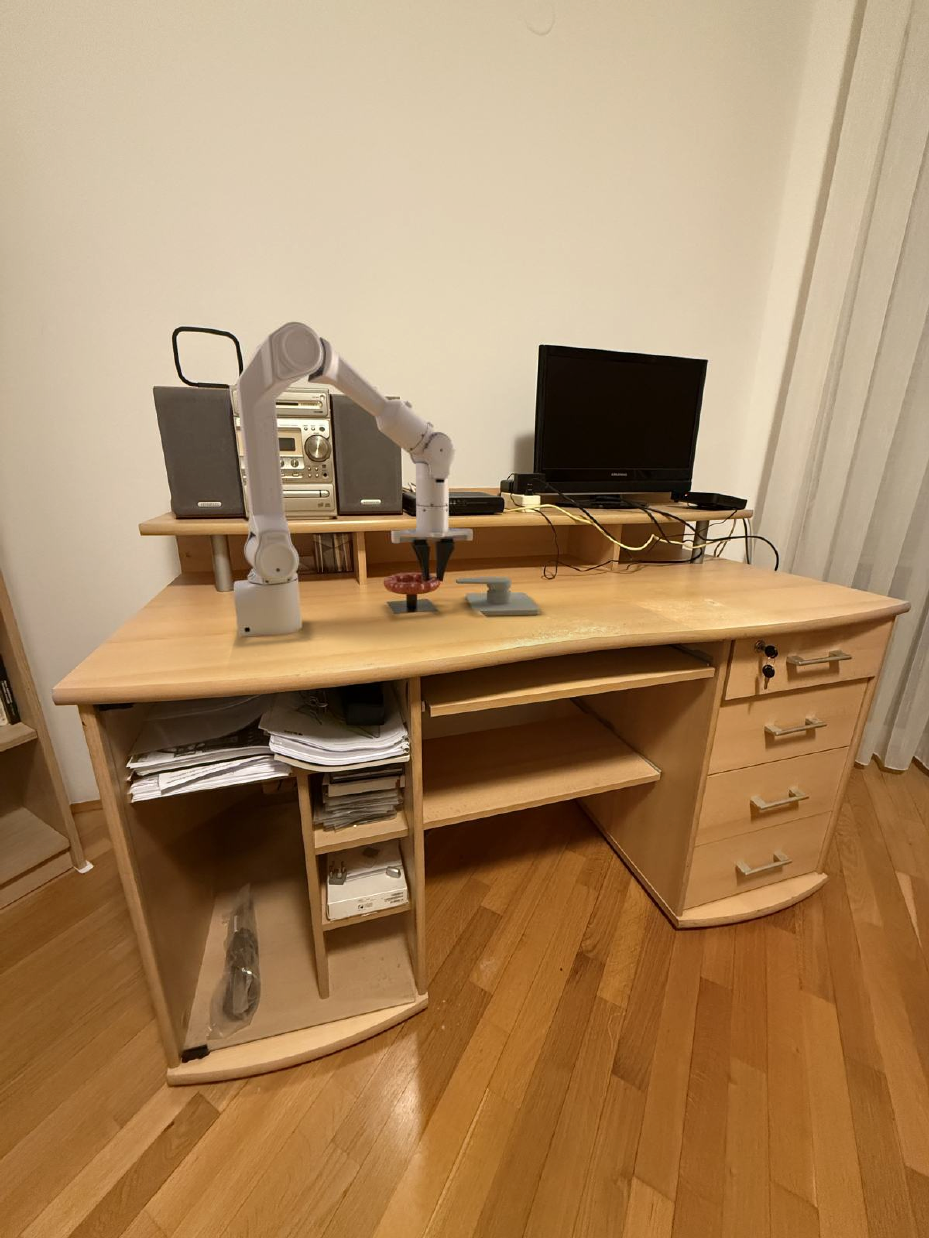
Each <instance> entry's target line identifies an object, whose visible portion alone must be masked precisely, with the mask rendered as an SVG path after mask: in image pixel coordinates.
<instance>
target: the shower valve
mask: <svg viewBox="0 0 929 1238" xmlns="http://www.w3.org/2000/svg"><path fill="white" fill-rule="evenodd" d="M455 583H456V584H458V585H486V588H488V589H487V591H486V592H468V593H466V594H465V601H467V602H468V603H469V604H470V606H471V608H472V610H473V611H475V612H480V613H481V614H482V615H484V616H485V617H496V616H532V615H533V616H535V615H539V614H540V607H539V606H538V605H537V604H536V602H534V601H533V600H532V598H531V597H530V596H529V595H528V594H527V593H526V592H523V591H522V592H521V591H520V592H519V591H518V592H517V591H515V592H514V591H513V592H511V590H510V589H511V588H512V579H511V578H510V577H506V576H477V577H456V578H455Z"/></svg>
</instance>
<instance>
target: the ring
mask: <svg viewBox="0 0 929 1238" xmlns="http://www.w3.org/2000/svg"><path fill="white" fill-rule="evenodd" d="M429 576H430V578H429V581H426V582H425V581H424V580H423V577H422V572H400V573H395V574H391V575H389V576H388V577H386V578H385V579H384V580H383V582H382V583H383V586H384V588H385V589H386V591H388V592H391V593H392V594H397V595H406V594H408V595H414V594H417V595H424V594H429V593H433V592H435V591H436V590H437V589H438V588H440V586H441V581H440V580H439V579H438V578H437V577H436V575H434V574H430V573H429ZM407 582H416V583H407Z"/></svg>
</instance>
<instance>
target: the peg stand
mask: <svg viewBox="0 0 929 1238" xmlns="http://www.w3.org/2000/svg"><path fill="white" fill-rule="evenodd" d="M407 583H416V582H407ZM386 603H387V604H388V606H389V608H390V609H391V611H392V613H393V614H394V615H400V614H414V613H426V612H437V611H439V609H438V608H437V607H436V606H435V605H434V604H433V603H432V602H431V601H430V600H429V599H428V598H420V599H419V598H418V594H414V595H408V594H405V600H392V601H386Z"/></svg>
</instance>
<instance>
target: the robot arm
mask: <svg viewBox="0 0 929 1238" xmlns="http://www.w3.org/2000/svg"><path fill="white" fill-rule="evenodd" d="M305 377H308V378H307V383H311V384H319V385H330V386H331V387H332V386H333V388H335V389H336V390H337V391H339V392H341V393H342V394H343V395H344V396H346V397H347V398H349V399H350V400H352V401H353V402H354V403H356V404H357V405H358V406H360V407H361V408H362V409H364V410H365V411H366V412H368V413H369V414H370V415H372V416H373V417H374V418H375V422H376V425H377V429H378V431H380V432H381V433H382V434H383V435H384V436H386V437H387V438H388V439H390V440H391V441H392V442H394V443H395V445H397V446H398V447H400V448H401V449H402V450H403V451H405V453H408V455H409V458H410V460H411V462H412V464H414V465H415V511H416V512H415V515H416V516H415V517H416V518H415V519H416V520H415V521H416V524H415V525H416V528H412V529H403V530H402V529H400V530H391V531H390V532H391V543H393V544H400V543H410V545H411V548H412V549H413V552H414V554H415V556H416V559H417V561H418V564H419V568H420V571H421V573H422V577H423V580H424V581H425V582H426V581H429V578H430V576H429V574H430V554H431V546H429V543H428V542H434V543H435V544H434V545H435V554H436V557H435V558H436V567H435V576H436V577H437V578H438V579H439V580H440V582H444V578H445V573H446V569H447V566H448V563H449V560H450V558H451V556H452V554H453V553H454V551H455V549H456V543H455V542H454V541H468V542H469V541H473V531H474V530H473V529H471V528H451V527H450V526H449V525H450V523H449V522H450V521H449V520H450V519H449V518H450V514H449V513H450V512H449V510H450V508H449V507H450V506H449V505H450V475H451V473H450V470H451V465H452V464H453V462H454V461H455V459H456V455H457V450H456V449H455V448H454V444H453V443H452V439H451V438H450V437H449V435H447V434H446V433H445V432H442V431H435V429H434V428H435V427H434V424H433V423H431V422H430V421H426V420H425V419H423V418H422V417H421V416H420V415H418V413H416V412H415V411H414V410H413V409H412V408H413V404H412V403H410V402H409V401H408V400H404V401H403V400H402V399H400V398H395V399H389V398H387V397H386V396H385V395H384V394H383V393H382V392H381V391H380V390H378V388H376V386H374V385H373V384H372V383H371V382H370V381H369V380H368V379H367V378H366V377H365V376H364V375H363V374H361V372H359V371H358V370H357V369H356V368H355V367H354V366H353V365H352V364H351V363H350V362H349V361H348V360H347V359H346V358H344V356H342V355H341V354H340V352H338V350H337V349H336V348H335V347H334V346H333V345H332V343H331V342H330V341H328V340H327V339H326V338H324V337H323V336H318V334H317V333H316V331H315V330H314V329H313V328H311V326H309V325H307V324H306V323H303V322H300V321H289V322H286V323H284V324H282V325H281V326H280V327H278V328H277V329H275V330H274V331H273V332H271V333H270V334H269V335H267V337H265V339H264V340H263V341H262V342H261V344H259V345H258V346H256V348H255V350H254V352H253V354H252V355H251V357H250V358H249V360H248V362H247V364H246V365H245V367H244V368H243V370H242V372H241V373H240V375H239V377H238V378H237V380H236V387H235V388H236V389H235V390H236V398H237V406H238V417H239V425H240V428H239V429H240V436H241V437H240V438H241V445H242V446H241V447H242V456H243V462H244V463H243V465H244V473H245V483H246V493H247V503H248V512H249V516H248V522H247V528H248V529H247V530H248V536H247V540H246V542H245V544H244V547H243V554H244V557H245V560H246V562H248V564H249V565H250V566H251V567H252V568H251V569H250V572H249V573H248V574H247V579H245V580H236V581H234V582H233V600H234V601H233V602H234V608H235V617H236V619H235V621H236V627H237V629H238V630H237V631H238V637H239V638H245V637H246V638H247V637H257V636H282V635H288V634H292V633H295V632H297V631H299V630H300V629H301V628H302V627H303V618H302V607H301V596H300V586H299V577H298V576H299V574H298V572H297V570H298V568H299V565H300V556H299V553H298V551H297V549H296V548H295V546H294V544H293V542H292V538H291V530H290V527H289V524H288V521H287V518H286V512H285V511H286V510H285V498H284V487H283V476H282V465H281V451H280V441H279V428H278V416H277V405H276V404H277V403H276V401H277V399H278V398H279V397H280V396H281V395H282V394H283V393H285V391H287V389H289V388H290V387H291V385H292V384H293V383H296V382H298V381H299V380H301V379H304V378H305ZM449 527H450V528H449ZM246 628H249V630H246Z"/></svg>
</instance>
